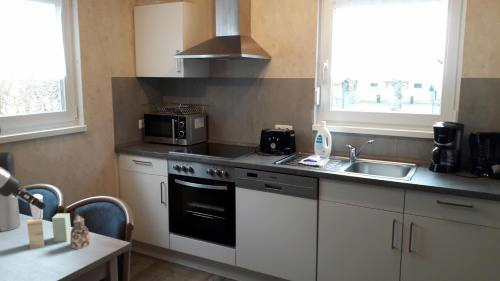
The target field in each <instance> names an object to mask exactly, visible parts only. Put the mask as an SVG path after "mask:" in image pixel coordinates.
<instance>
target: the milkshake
mask: <svg viewBox="0 0 500 281" xmlns="http://www.w3.org/2000/svg"><path fill="white" fill-rule="evenodd" d="M33 196H34V197H35V198H38V200H39V201H41V202H42V203H44V200H43V199H44V196H43V195H42V194H40V193H34V194H33ZM33 200H34V199H33ZM33 200H32V201H33ZM32 201H31V202H32ZM29 207H30V212H31V217H32V219H33V220H40V219H42V220H43V218H44V214H43V213H44V208H43V209H42V210H41V209H40V208H38V207H36V206H35V205H31V203H29Z"/></svg>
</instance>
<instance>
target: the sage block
mask: <svg viewBox="0 0 500 281" xmlns="http://www.w3.org/2000/svg"><path fill="white" fill-rule="evenodd" d="M70 216H71V215H70V213H69V212H68V213H61V212H60V213H56V214H54V216H52V217H51V222H52V223H51V224H52V233H53V241H54V242H55V243H58V242H59V243H60V242H61V243H62V242H68V241H69V240H71V230H72V227H71V226H72V225H71V217H70Z"/></svg>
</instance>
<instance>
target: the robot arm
mask: <svg viewBox="0 0 500 281" xmlns="http://www.w3.org/2000/svg"><path fill="white" fill-rule="evenodd" d="M1 131H2V128H1V127H0V133H1ZM15 170H16V168H15V157H14V155H13V153H12V152H10V151H2V152H0V231H1V232H5V231H10V230H15V229H18V228H19V227H21V219H20V218H21V217H20V209H19V208H20V207H19V200H21V201H23V202H24V203H29V204H30V203H31V205H35V206H36V207H38V208H40V209H41V210H42V209H43V210H44V209H45V207H46V203H44V202H43V203H42V202H41V201H39V200H38V198H35V197H34V196H33V195H34V194H33V193H31V192H29V191H28V190H27V188H25V187H24V186H21V185H20V183H21V180H20V178H19V177H17V176H16V171H15ZM33 199H34V200H33ZM32 200H33V201H32ZM31 201H32V202H31Z"/></svg>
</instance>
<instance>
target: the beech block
mask: <svg viewBox="0 0 500 281" xmlns="http://www.w3.org/2000/svg"><path fill="white" fill-rule="evenodd" d="M26 222H27V223H26V225H27V233H28V234H27V235H28V243H29V249H30V250H32V249H36V248H42V247H45V238H44V229H43V218H42V219H40V220H33V218H32V219H28V220H26Z"/></svg>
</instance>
